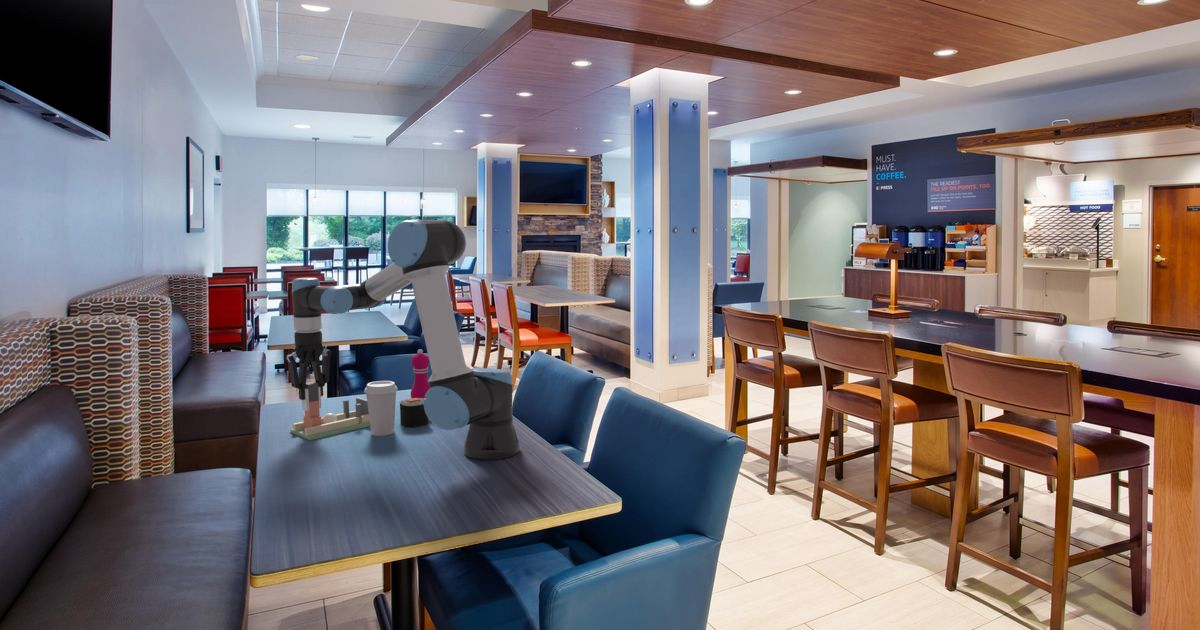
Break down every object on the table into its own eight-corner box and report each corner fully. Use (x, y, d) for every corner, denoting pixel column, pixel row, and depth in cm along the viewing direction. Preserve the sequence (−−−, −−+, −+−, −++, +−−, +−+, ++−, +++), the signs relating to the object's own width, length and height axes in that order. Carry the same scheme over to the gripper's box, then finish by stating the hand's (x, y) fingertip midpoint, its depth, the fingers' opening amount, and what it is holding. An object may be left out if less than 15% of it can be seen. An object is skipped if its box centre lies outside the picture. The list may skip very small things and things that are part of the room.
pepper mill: (410, 405, 246) (408, 347, 244) (431, 403, 248) (430, 346, 246) (411, 410, 239) (409, 351, 237) (433, 408, 242) (431, 350, 239)
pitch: (377, 424, 223) (376, 402, 222) (310, 440, 206) (309, 416, 205) (357, 417, 230) (356, 396, 229) (290, 432, 214) (289, 409, 213)
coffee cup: (404, 428, 218) (402, 380, 216) (391, 438, 209) (390, 387, 207) (373, 427, 219) (372, 379, 217) (360, 436, 210) (358, 387, 208)
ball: (339, 425, 217) (339, 413, 217) (327, 428, 214) (326, 415, 214) (333, 423, 220) (332, 410, 219) (320, 426, 217) (320, 413, 216)
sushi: (432, 424, 223) (431, 399, 222) (407, 429, 218) (406, 403, 217) (421, 418, 229) (420, 394, 228) (396, 423, 224) (395, 398, 223)
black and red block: (321, 429, 212) (319, 383, 210) (312, 431, 210) (310, 385, 208) (313, 426, 215) (311, 381, 214) (304, 428, 213) (301, 382, 211)
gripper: (327, 326, 217) (330, 401, 220) (274, 332, 205) (279, 411, 208) (340, 328, 213) (343, 405, 216) (287, 335, 200) (291, 416, 203)
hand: (311, 408), depth 212 cm, fingers closed on black and red block, 3 cm apart
